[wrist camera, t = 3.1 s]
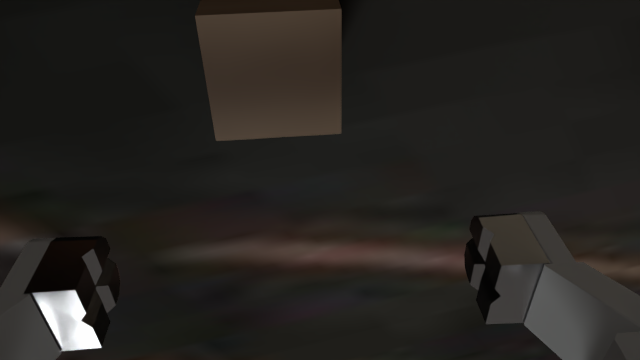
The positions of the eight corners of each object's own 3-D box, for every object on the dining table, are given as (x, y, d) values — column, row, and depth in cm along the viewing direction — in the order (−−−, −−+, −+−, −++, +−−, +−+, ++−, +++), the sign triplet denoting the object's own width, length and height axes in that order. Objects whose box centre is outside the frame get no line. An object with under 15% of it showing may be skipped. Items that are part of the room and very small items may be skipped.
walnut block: (327, 71, 25) (341, 133, 21) (226, 76, 25) (216, 141, 20) (326, -35, 22) (341, 8, 18) (211, -31, 22) (195, 15, 17)
